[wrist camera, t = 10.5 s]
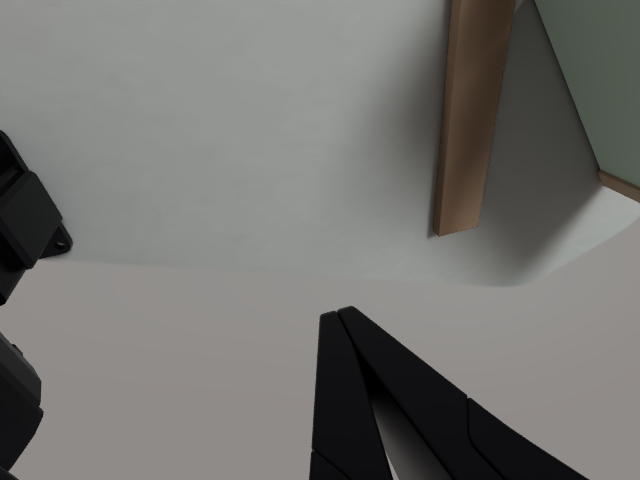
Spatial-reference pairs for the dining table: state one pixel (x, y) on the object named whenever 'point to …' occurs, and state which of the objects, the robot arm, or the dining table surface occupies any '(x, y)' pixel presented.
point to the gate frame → (470, 108)
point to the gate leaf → (602, 79)
